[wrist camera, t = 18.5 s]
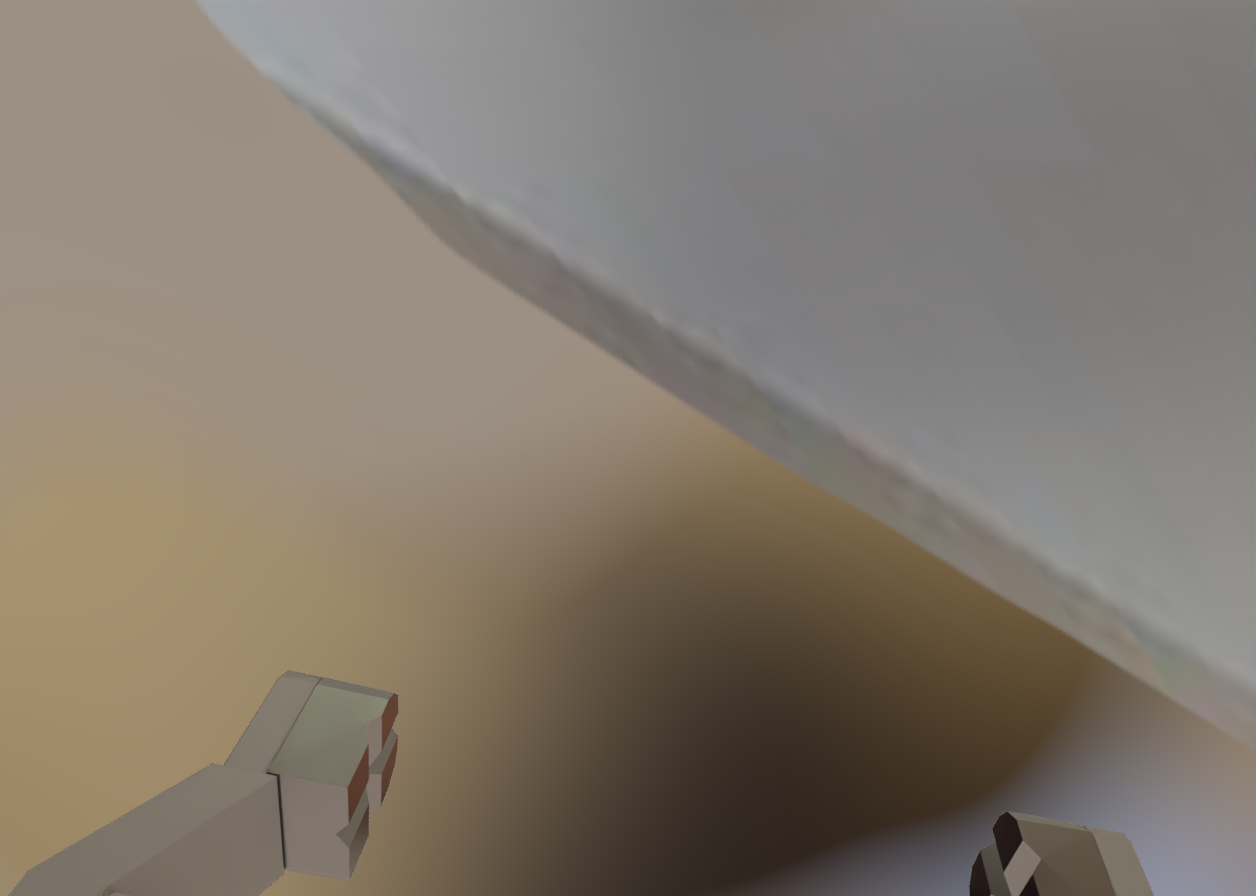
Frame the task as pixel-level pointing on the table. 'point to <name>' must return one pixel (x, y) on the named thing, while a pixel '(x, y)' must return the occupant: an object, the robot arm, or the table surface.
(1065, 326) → the table surface
